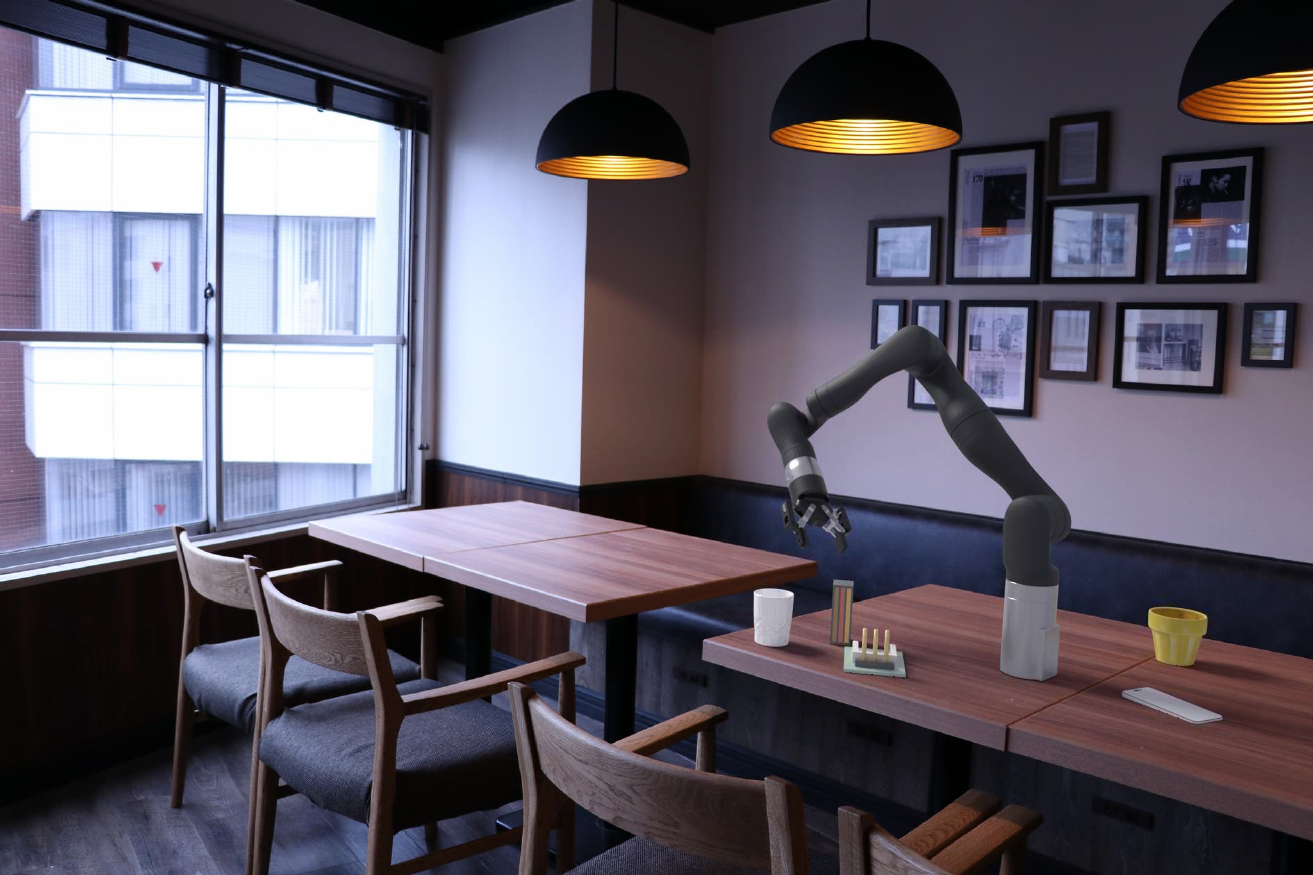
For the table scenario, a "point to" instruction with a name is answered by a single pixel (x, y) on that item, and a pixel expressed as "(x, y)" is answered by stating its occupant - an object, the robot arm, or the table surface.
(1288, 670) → the table surface
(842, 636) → the block
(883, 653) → the header board
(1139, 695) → the smartphone
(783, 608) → the white cup
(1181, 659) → the plant pot
